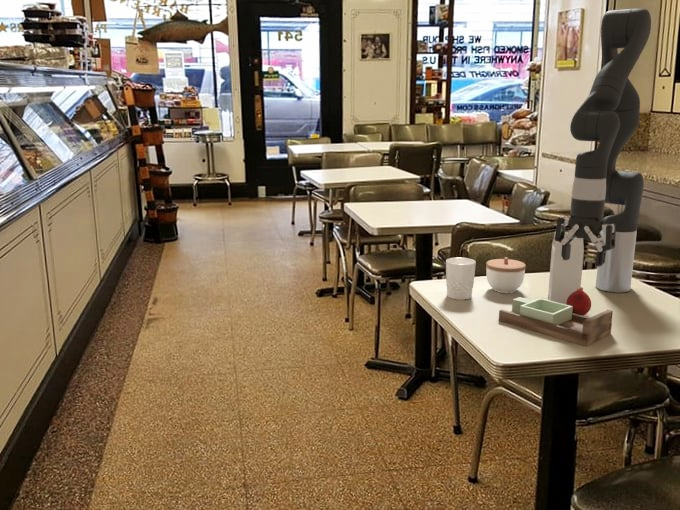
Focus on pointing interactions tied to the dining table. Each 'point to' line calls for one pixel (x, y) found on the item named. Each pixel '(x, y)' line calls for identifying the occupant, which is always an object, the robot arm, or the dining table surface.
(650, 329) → the dining table surface
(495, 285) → the lidded jar
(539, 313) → the sled
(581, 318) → the rail
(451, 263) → the white cup
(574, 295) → the onion
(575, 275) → the milk carton
